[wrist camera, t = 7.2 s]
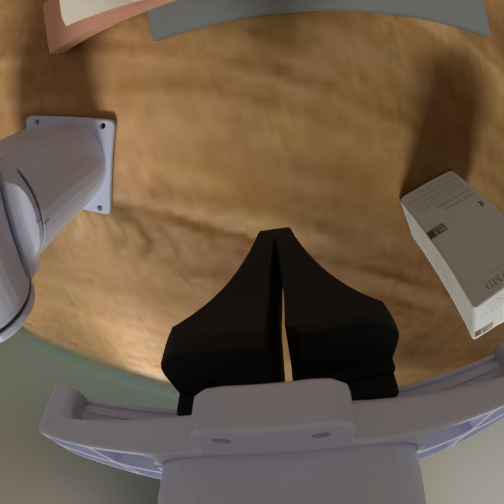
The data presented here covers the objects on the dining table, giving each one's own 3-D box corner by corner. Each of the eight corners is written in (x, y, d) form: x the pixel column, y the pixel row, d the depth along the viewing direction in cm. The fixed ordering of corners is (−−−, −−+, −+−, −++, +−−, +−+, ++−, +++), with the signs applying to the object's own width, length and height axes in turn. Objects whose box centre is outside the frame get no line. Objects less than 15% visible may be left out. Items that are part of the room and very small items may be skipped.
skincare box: (450, 167, 19) (547, 249, 9) (460, 207, 21) (539, 296, 11) (394, 199, 21) (474, 306, 11) (409, 238, 23) (474, 344, 13)
